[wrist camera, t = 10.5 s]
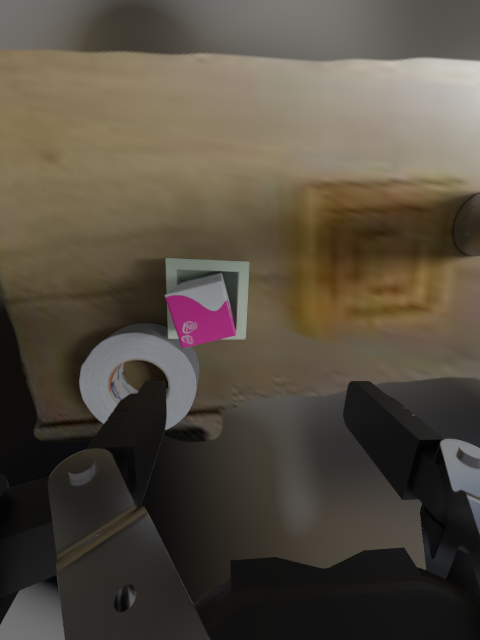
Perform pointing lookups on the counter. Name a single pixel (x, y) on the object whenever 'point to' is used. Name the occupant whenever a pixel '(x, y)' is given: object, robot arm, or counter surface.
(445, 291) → the counter surface
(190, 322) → the supplement box
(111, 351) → the tape roll
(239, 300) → the holder
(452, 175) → the counter surface
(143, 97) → the counter surface
